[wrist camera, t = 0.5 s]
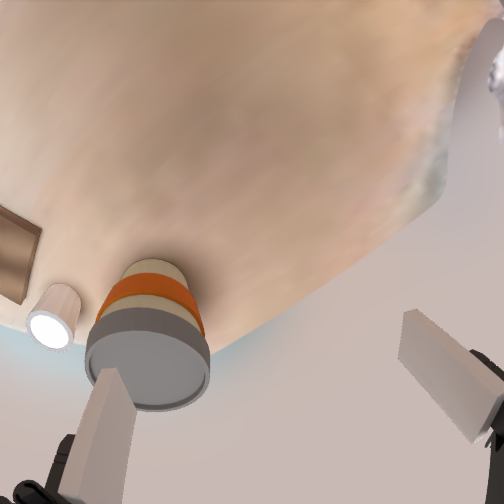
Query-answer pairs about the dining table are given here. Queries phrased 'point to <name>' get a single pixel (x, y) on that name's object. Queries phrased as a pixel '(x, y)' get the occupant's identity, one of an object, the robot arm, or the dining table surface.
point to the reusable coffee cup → (151, 338)
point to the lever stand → (16, 254)
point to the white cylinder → (55, 318)
